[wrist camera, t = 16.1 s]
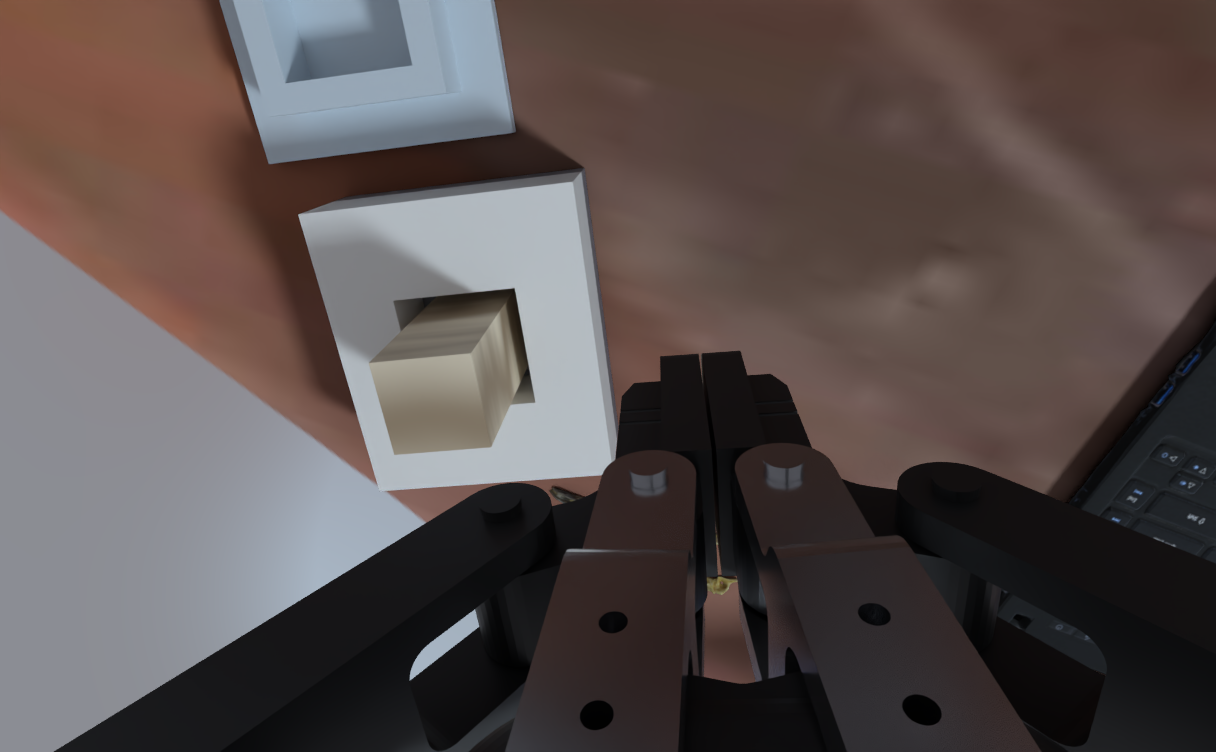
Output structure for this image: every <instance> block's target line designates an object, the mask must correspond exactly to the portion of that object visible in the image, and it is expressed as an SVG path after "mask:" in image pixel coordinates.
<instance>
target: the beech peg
mask: <svg viewBox="0 0 1216 752" xmlns="http://www.w3.org/2000/svg"><path fill="white" fill-rule="evenodd" d="M528 365H529V364H528V359H527V353H526V347H525V342H524V336H523V331H522V325H521V320H520V314H519V309H518V303H517V298H516V292H515V288H511V289H501V290H492V291H482V292H472V293H463V294H453V295H443V296H437V297H436V298H435V299H434V300H433V301H432V302H431V303H430V304H428V305H427V306H426V307H425V308H424V309H423V310H422V311H421V312H420V313H419V314H418V315H417V316H416V317H415V318H414V319H413V320H412V321H411V322H410V323H409V324H408V325H407V326H406V327H405V328H404V329H403V330H402V331H401V332H400V333H399V334H398V335H397V336H396V337H395V338H394V339H393V340H392V341H391V342H390V343H389V344H387V345H386V346H385V347H384V348H383V349H382V350H381V351H380V352H379V353H378V354H377V355H376V356H375V357H374V358H373V359H372V360H371V361H370V362H369V367H370V370H371V374H372V377H373V381H374V384H375V388H376V392H377V395H378V399H379V402H380V406H381V409H382V413H383V416H384V420H385V424H386V427H387V431H388V434H389V438H390V441H391V445H392V449H393V452H394V455H401V454H413V453H426V452H438V451H451V450H464V449H476V448H489V447H492V445H493V442H494V440H495V438H496V436H497V433H498V431H499V429H500V427H501V425H502V422H503V420H504V418H505V416H506V413H507V411H508V409H509V407H510V405H511V402H512V400H513V398H514V396H515V394H516V391H517V389H518V387H519V385H520V382H521V380H522V378H523V376H524V374H525V371H526V369H527V367H528Z"/></svg>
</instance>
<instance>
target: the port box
mask: <svg viewBox="0 0 1216 752" xmlns="http://www.w3.org/2000/svg"><path fill="white" fill-rule="evenodd" d="M298 216H299V220H300V223H301V226H302V230H303V233H304V237H305V240H306V243H307V247H308V250H309V253H310V257H311V260H312V264H313V267H314V270H315V274H316V277H317V281H318V284H319V287H320V291H321V294H322V297H323V301H324V304H325V308H326V311H327V314H328V318H329V321H330V325H331V328H332V331H333V335H334V338H335V341H336V345H337V348H338V352H339V355H340V358H341V362H342V365H343V369H344V372H345V375H346V379H347V382H348V385H349V389H350V392H351V396H352V399H353V402H354V406H355V409H356V413H357V416H358V419H359V423H360V426H361V429H362V433H363V436H364V440H365V443H366V446H367V450H368V453H369V457H370V460H371V463H372V467H373V470H374V474H375V477H376V480H377V484H378V487H379V490H380V491H389V490H403V489H417V488H430V487H444V486H458V485H472V484H486V483H499V482H513V481H527V480H541V479H555V478H568V477H582V476H596V475H602V474H603V472H604V470H605V469H606V467H607V466H608V465H609V464H610V463H611V462H613V461H614V460H615V454H616V445H617V436H618V420H617V412H616V405H615V397H614V389H613V382H612V374H611V367H610V359H609V351H608V344H607V336H606V328H605V321H604V313H603V305H602V298H601V290H600V283H599V275H598V267H597V260H596V252H595V244H594V237H593V229H592V222H591V214H590V206H589V199H588V191H587V183H586V176H585V168H579V169H571V170H563V171H554V172H546V173H538V174H530V175H522V176H513V177H505V178H497V179H489V180H480V181H472V182H464V183H456V184H447V185H439V186H431V187H423V188H414V189H406V190H398V191H390V192H381V193H373V194H365V195H357V196H349V197H344V198H342V199H339V200H336V201H334V202H331V203H328V204H325V205H323V206H320V207H317V208H315V209H312V210H309V211H306V212H304V213H301V214H298ZM511 288H515V292H516V298H517V303H518V309H519V314H520V320H521V325H522V331H523V336H524V342H525V347H526V353H527V359H528V364H529V365H528V367H527V369H526V371H525V374H524V376H523V378H522V380H521V382H520V385H519V387H518V389H517V391H516V394H515V396H514V398H513V400H512V402H511V405H510V407H509V409H508V411H507V413H506V416H505V418H504V420H503V422H502V425H501V427H500V429H499V431H498V433H497V436H496V438H495V440H494V442H493V445H492V447H489V448H476V449H464V450H451V451H438V452H426V453H413V454H401V455H394V452H393V449H392V445H391V441H390V438H389V434H388V431H387V427H386V424H385V420H384V416H383V413H382V409H381V406H380V402H379V399H378V395H377V392H376V388H375V384H374V381H373V377H372V374H371V370H370V367H369V362H370V361H371V360H372V359H373V358H374V357H375V356H376V355H377V354H378V353H379V352H380V351H381V350H382V349H383V348H384V347H385V346H386V345H387V344H389V343H390V342H391V341H392V340H393V339H394V338H395V337H396V336H397V335H398V334H399V333H400V332H401V331H402V330H403V329H404V328H405V327H406V326H407V325H408V324H409V323H410V322H411V321H412V320H413V319H414V318H415V317H416V316H417V315H418V314H419V313H420V312H421V311H422V310H423V309H424V308H425V307H426V306H427V305H428V304H430V303H431V302H432V301H433V300H434V299H435V298H436V297H437V296H443V295H453V294H463V293H472V292H482V291H492V290H501V289H511Z"/></svg>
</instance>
